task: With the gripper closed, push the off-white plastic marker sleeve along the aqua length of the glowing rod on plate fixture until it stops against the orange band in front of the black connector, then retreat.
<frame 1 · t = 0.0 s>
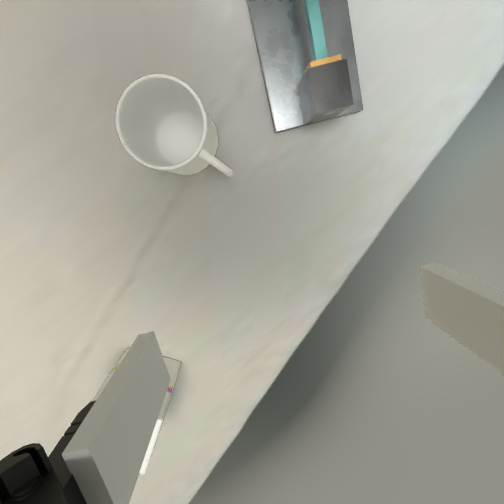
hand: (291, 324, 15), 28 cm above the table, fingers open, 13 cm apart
glowing rod on plate: (297, 11, 36), on the table
mug: (194, 149, 40), on the table
ink box: (148, 376, 47), on the table
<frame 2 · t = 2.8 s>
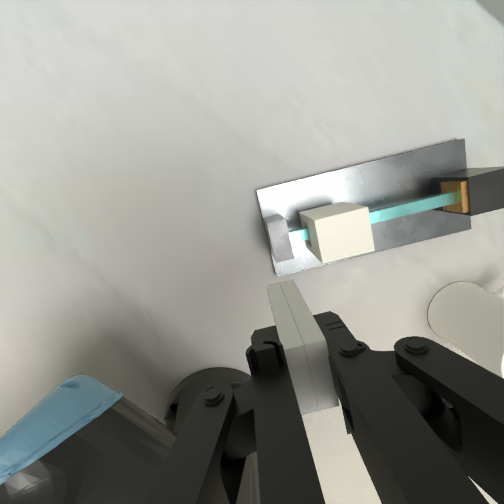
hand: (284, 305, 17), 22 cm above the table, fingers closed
glowing rod on plate: (363, 209, 39), on the table
sleeve: (333, 229, 32), point 7 cm above the table, slide at 0.0 cm
mug: (465, 301, 42), on the table
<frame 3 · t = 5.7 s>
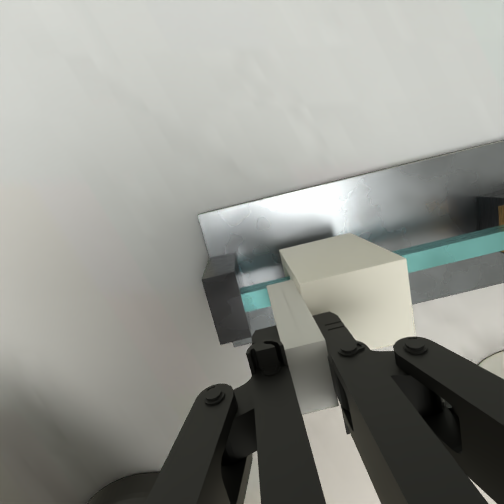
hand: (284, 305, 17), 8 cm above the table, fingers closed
glowing rod on plate: (368, 243, 25), on the table
sleeve: (336, 287, 18), point 7 cm above the table, slide at 1.1 cm, touching gripper
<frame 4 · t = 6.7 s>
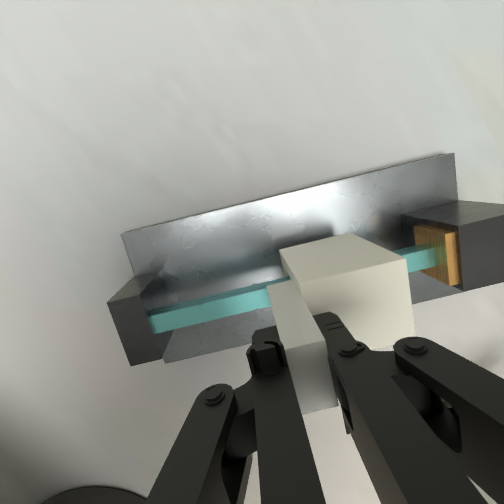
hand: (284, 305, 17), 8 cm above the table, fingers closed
glowing rod on plate: (298, 260, 25), on the table
sleeve: (335, 286, 18), point 7 cm above the table, slide at 6.9 cm, touching gripper
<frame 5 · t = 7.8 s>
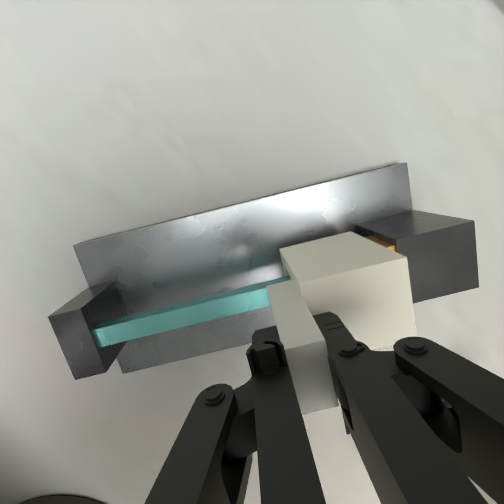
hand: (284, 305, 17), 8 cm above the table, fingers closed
glowing rod on plate: (255, 270, 25), on the table
sleeve: (336, 286, 18), point 7 cm above the table, slide at 10.5 cm, touching gripper
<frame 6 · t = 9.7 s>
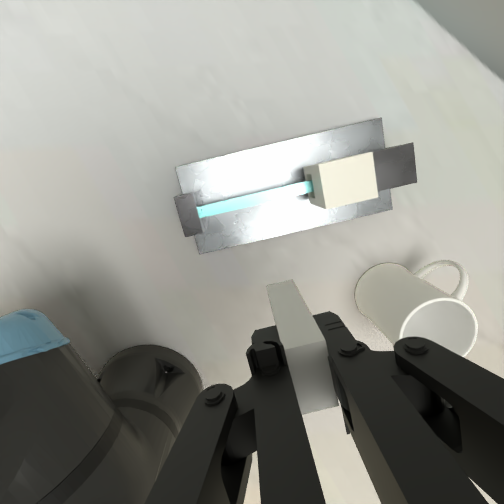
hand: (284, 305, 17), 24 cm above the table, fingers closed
glowing rod on plate: (285, 188, 39), on the table
sleeve: (337, 180, 32), point 7 cm above the table, slide at 10.5 cm
mug: (392, 283, 43), on the table
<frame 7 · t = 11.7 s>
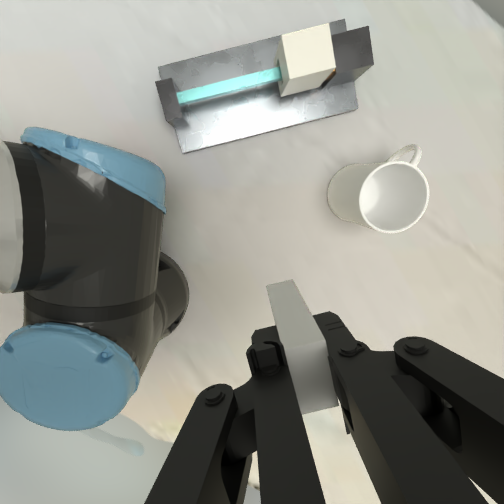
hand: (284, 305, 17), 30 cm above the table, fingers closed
glowing rod on plate: (260, 90, 42), on the table
sleeve: (302, 64, 35), point 7 cm above the table, slide at 10.5 cm
mug: (362, 185, 46), on the table
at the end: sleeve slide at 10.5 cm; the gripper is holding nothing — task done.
